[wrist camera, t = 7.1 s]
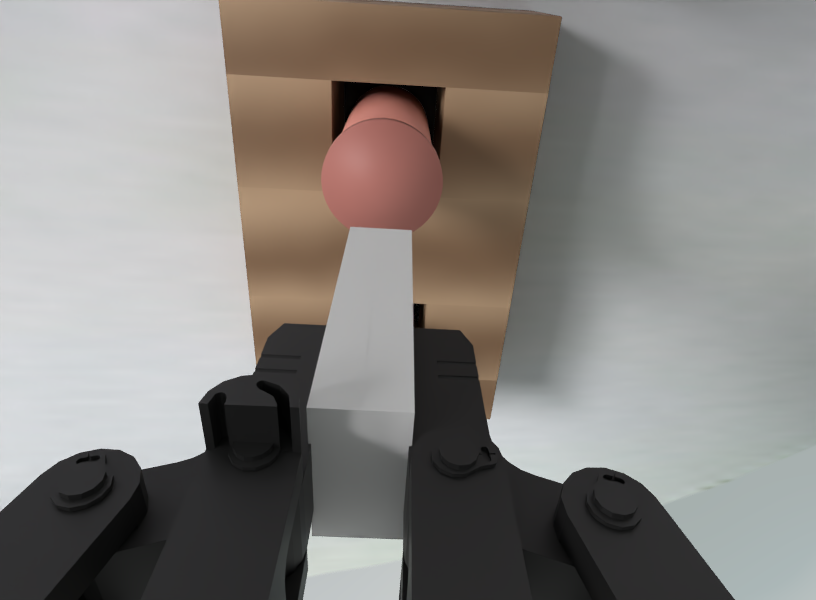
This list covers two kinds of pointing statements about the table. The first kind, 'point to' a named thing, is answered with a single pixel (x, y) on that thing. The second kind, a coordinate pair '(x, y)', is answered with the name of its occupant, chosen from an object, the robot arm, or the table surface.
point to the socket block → (452, 140)
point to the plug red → (383, 164)
